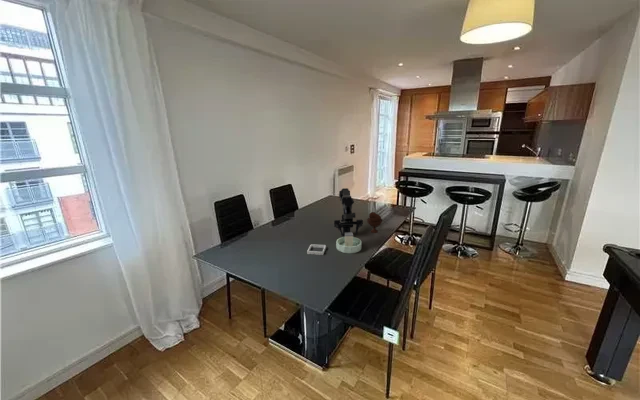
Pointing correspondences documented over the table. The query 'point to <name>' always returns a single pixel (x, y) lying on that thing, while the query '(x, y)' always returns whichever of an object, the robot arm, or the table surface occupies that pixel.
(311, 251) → the square frame
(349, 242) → the cream grey rectangular block
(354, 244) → the serving bowl
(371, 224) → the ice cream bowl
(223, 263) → the table surface
